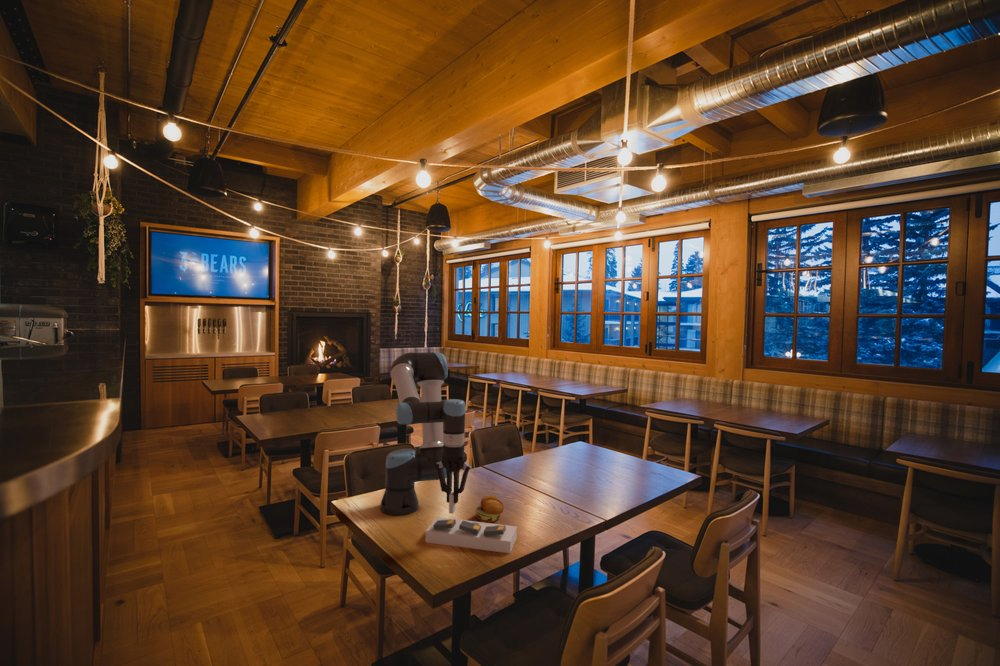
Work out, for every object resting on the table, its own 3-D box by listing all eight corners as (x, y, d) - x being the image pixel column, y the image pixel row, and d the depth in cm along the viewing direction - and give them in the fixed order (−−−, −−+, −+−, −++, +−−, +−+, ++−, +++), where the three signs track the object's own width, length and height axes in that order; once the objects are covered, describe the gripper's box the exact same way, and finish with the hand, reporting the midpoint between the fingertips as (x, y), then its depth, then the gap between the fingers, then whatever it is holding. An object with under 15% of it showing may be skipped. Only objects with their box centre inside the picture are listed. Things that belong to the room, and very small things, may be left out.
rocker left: (433, 529, 164) (433, 524, 164) (437, 524, 168) (437, 520, 168) (452, 528, 162) (451, 523, 163) (455, 523, 166) (455, 519, 166)
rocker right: (484, 535, 160) (483, 531, 160) (486, 530, 164) (486, 526, 164) (503, 534, 159) (502, 530, 159) (505, 529, 163) (505, 525, 163)
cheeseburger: (485, 510, 192) (491, 488, 191) (505, 524, 186) (511, 501, 184) (468, 517, 185) (474, 494, 183) (488, 532, 178) (494, 508, 176)
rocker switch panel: (425, 542, 164) (425, 530, 164) (437, 527, 175) (437, 516, 175) (510, 553, 157) (510, 541, 157) (516, 537, 169) (516, 526, 169)
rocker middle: (458, 529, 162) (459, 524, 162) (462, 524, 166) (463, 520, 166) (477, 534, 161) (478, 530, 161) (480, 529, 165) (481, 525, 164)
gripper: (432, 445, 162) (430, 514, 162) (468, 448, 159) (467, 518, 159) (439, 440, 169) (438, 506, 169) (474, 443, 166) (473, 509, 167)
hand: (452, 511), depth 164 cm, fingers closed
